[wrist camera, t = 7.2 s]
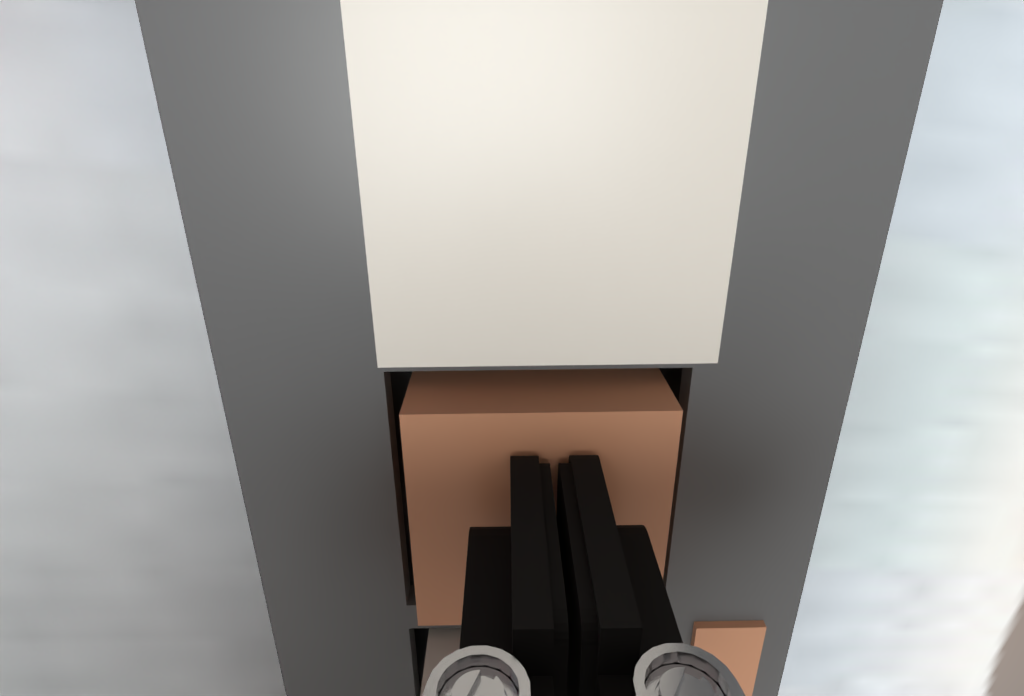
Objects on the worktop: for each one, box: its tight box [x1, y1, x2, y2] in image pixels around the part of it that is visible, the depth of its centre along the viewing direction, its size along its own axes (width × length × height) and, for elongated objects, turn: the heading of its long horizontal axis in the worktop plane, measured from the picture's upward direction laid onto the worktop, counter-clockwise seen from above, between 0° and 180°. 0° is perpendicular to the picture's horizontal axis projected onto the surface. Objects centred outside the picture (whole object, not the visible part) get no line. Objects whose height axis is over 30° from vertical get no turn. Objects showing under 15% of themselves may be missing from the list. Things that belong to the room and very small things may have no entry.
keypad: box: [135, 0, 943, 696], centre depth 13 cm, size 27×12×4 cm, turn 0°
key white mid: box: [340, 0, 768, 368], centre depth 10 cm, size 5×5×4 cm
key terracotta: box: [399, 368, 683, 626], centre depth 13 cm, size 5×5×4 cm
